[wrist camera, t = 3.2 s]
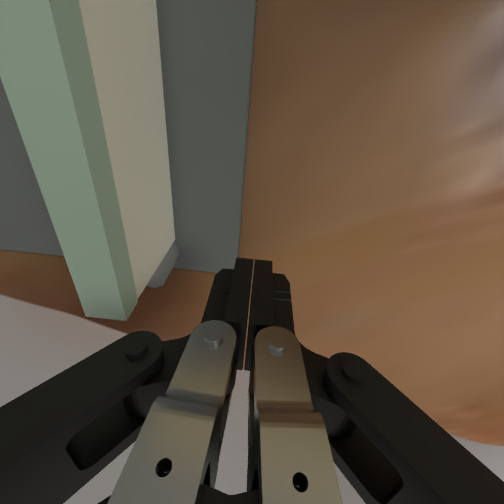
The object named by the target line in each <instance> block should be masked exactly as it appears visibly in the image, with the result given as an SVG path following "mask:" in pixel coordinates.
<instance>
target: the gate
mask: <svg viewBox="0 0 504 504" xmlns="http://www.w3.org/2000/svg"><path fill="white" fill-rule="evenodd" d="M0 77H1V80H2V83H3V86H4V89H5V92H6V94H7V97H8V100H9V103H10V106H11V108H12V111H13V114H14V117H15V120H16V122H17V125H18V128H19V131H20V134H21V136H22V139H23V142H24V145H25V148H26V150H27V153H28V156H29V159H30V162H31V164H32V167H33V170H34V173H35V176H36V178H37V181H38V184H39V187H40V190H41V192H42V195H43V198H44V201H45V204H46V206H47V209H48V212H49V215H50V218H51V221H52V223H53V226H54V229H55V232H56V235H57V237H58V240H59V243H60V246H61V249H62V251H63V254H64V257H65V260H66V263H67V265H68V268H69V271H70V274H71V277H72V279H73V282H74V285H75V288H76V291H77V293H78V296H79V299H80V302H81V305H82V307H83V310H84V313H85V316H86V317H95V318H104V319H113V320H121V321H127V319H128V318H129V316H130V314H131V313H132V311H133V310H134V308H135V306H136V305H137V303H138V298H139V296H140V295H141V293H142V292H143V290H144V288H145V287H146V285H147V284H148V282H149V280H150V279H151V277H152V276H153V274H154V273H155V271H156V269H157V268H158V266H159V265H160V263H161V261H162V260H163V258H164V257H165V255H166V253H167V252H168V250H169V249H170V247H171V246H172V244H173V242H174V241H175V230H174V218H173V205H172V193H171V180H170V168H169V156H168V143H167V131H166V118H165V106H164V93H163V81H162V68H161V56H160V43H159V31H158V18H157V6H156V0H0Z"/></svg>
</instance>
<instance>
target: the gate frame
mask: <svg viewBox="0 0 504 504" xmlns="http://www.w3.org/2000/svg"><path fill="white" fill-rule="evenodd" d="M156 6H157V18H158V31H159V43H160V56H161V68H162V81H163V93H164V106H165V118H166V131H167V143H168V156H169V168H170V180H171V193H172V205H173V218H174V230H175V241H174V242H173V244H172V246H171V247H170V249H169V250H168V252H167V253H166V255H165V257H164V258H163V260H162V261H161V263H160V265H159V266H158V268H157V269H156V271H155V273H154V274H153V276H152V277H151V279H150V280H149V282H148V284H147V285H146V286H148V287H152V288H158V287H161V286H163V285H164V283H165V282H166V280H167V278H168V276H169V274H170V272H171V271H172V269H173V268H177V269H186V270H195V271H204V272H213V273H218V272H219V271H220V270H221V269H222V268H226V269H234V267H235V262H236V258H238V256H239V242H240V229H241V215H242V201H243V187H244V173H245V159H246V145H247V132H248V118H249V104H250V90H251V76H252V62H253V49H254V35H255V21H256V7H257V0H156ZM0 249H4V250H13V251H22V252H31V253H40V254H49V255H58V256H64V254H63V251H62V249H61V246H60V243H59V240H58V237H57V235H56V232H55V229H54V226H53V223H52V221H51V218H50V215H49V212H48V209H47V206H46V204H45V201H44V198H43V195H42V192H41V190H40V187H39V184H38V181H37V178H36V176H35V173H34V170H33V167H32V164H31V162H30V159H29V156H28V153H27V150H26V148H25V145H24V142H23V139H22V136H21V134H20V131H19V128H18V125H17V122H16V120H15V117H14V114H13V111H12V108H11V106H10V103H9V100H8V97H7V94H6V92H5V89H4V86H3V83H2V80H1V77H0Z"/></svg>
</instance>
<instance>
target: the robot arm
mask: <svg viewBox="0 0 504 504" xmlns="http://www.w3.org/2000/svg"><path fill="white" fill-rule="evenodd" d="M252 269H253V259H246V258H236V262H235V267H234V269H226V268H222V269H221V270H220V271H219V272H218V273H217V274H216V275H215V278H214V281H213V286H212V288H211V291H210V295H209V298H208V301H207V305H206V308H205V311H204V315H203V318H202V321H201V324H199V325H198V326H197V327H195V329H194V330H193V331H192V333H191V334H190V335H188V336H186V337H183V338H179V339H174V340H168V341H163V342H162V341H161V339H160V338H159V336H157V335H156V334H154V333H152V332H149V331H137V332H133V333H130V334H128V335H126V336H124V337H122V338H121V339H119V340H117V341H115V342H113V343H112V344H110V345H108V346H106V347H105V348H103V349H101V350H99V351H98V352H96V353H94V354H92V355H91V356H89V357H87V358H85V359H84V360H82V361H80V362H78V363H77V364H75V365H73V366H72V367H70V368H68V369H66V370H64V371H63V372H61V373H60V374H58V375H56V376H54V377H52V378H51V379H49V380H47V381H45V382H44V383H42V384H40V385H38V386H37V387H35V388H33V389H32V390H30V391H28V392H26V393H24V394H23V395H21V396H19V397H17V398H16V399H14V400H12V401H10V402H9V403H7V404H5V405H3V406H2V407H0V504H63V503H64V502H65V501H67V500H68V499H69V498H70V497H71V496H72V495H74V494H75V493H76V492H77V491H78V490H79V489H80V488H82V487H83V486H84V485H85V484H86V483H87V482H89V481H90V480H91V479H92V478H93V477H94V476H95V475H97V474H98V473H99V472H100V471H101V470H102V469H103V468H104V467H106V466H107V465H108V464H109V463H110V462H112V461H113V460H114V459H115V458H116V457H117V456H118V455H120V454H121V453H122V452H123V451H124V450H125V449H127V448H128V447H129V446H130V445H131V444H132V443H134V442H135V441H136V442H135V444H134V446H133V448H132V450H131V453H130V455H129V457H128V459H127V461H126V464H125V466H124V468H123V470H122V473H121V475H120V477H119V479H118V482H117V484H116V486H115V488H114V490H113V492H112V495H111V496H109V497H107V498H106V499H104V500H103V501H101V502H100V503H98V504H343V502H342V497H341V492H340V488H339V484H338V479H337V475H336V471H335V466H334V463H335V464H336V465H337V467H338V468H339V469H340V471H341V472H342V473H343V474H344V476H345V477H346V478H347V480H348V481H349V482H350V484H351V485H352V486H353V488H355V490H356V491H357V493H358V494H359V495H360V497H361V498H362V499H363V500H364V502H365V503H366V504H504V482H503V481H502V480H501V479H500V478H499V477H497V476H496V475H495V474H494V473H493V472H492V471H490V470H489V469H488V468H487V467H486V466H485V465H484V464H483V463H481V462H480V461H479V460H478V459H477V458H476V457H475V456H473V455H472V454H471V453H470V452H469V451H468V450H466V448H464V447H463V446H462V445H461V444H460V443H458V441H456V440H455V439H454V438H453V437H452V436H451V435H450V434H448V433H447V432H446V431H445V430H444V429H443V428H442V427H440V426H439V425H438V424H437V423H436V422H435V421H434V420H432V419H431V418H430V417H429V416H428V415H427V414H426V413H424V412H423V411H422V410H421V409H420V408H419V407H418V406H416V405H415V404H414V403H413V402H412V401H411V400H410V399H409V398H407V397H406V396H405V395H404V394H403V393H402V392H401V391H399V390H398V389H397V388H396V387H395V386H394V385H393V384H391V383H390V382H389V381H388V380H387V379H386V378H385V377H383V376H382V375H381V374H380V373H379V372H378V371H377V370H375V369H374V368H373V367H372V366H371V365H370V364H369V363H367V362H366V361H365V360H364V359H362V358H361V357H359V356H357V355H354V354H351V353H346V352H341V353H336V354H334V355H333V356H331V357H330V359H329V358H326V357H324V356H321V355H319V354H316V353H314V352H312V351H310V350H308V349H307V348H305V347H304V346H303V345H302V344H301V343H300V342H299V340H298V339H297V337H296V335H295V332H294V323H293V313H292V303H291V294H290V283H289V281H288V280H287V278H286V277H285V275H284V274H276V273H272V261H266V260H256V259H255V264H254V274H253V284H252V294H251V304H250V315H249V325H248V336H247V347H246V358H245V368H244V370H248V371H250V380H249V389H248V468H247V469H248V470H247V492H244V493H240V494H236V495H227V494H225V493H223V492H221V491H219V490H216V489H214V487H215V481H216V476H217V470H218V462H219V456H220V451H221V446H222V440H223V436H224V430H225V426H226V421H227V416H228V411H229V406H230V401H231V397H232V391H233V388H234V385H235V379H236V371H237V370H242V369H243V359H244V349H245V339H246V329H247V319H248V309H249V299H250V289H251V279H252ZM333 461H334V462H333Z"/></svg>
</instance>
